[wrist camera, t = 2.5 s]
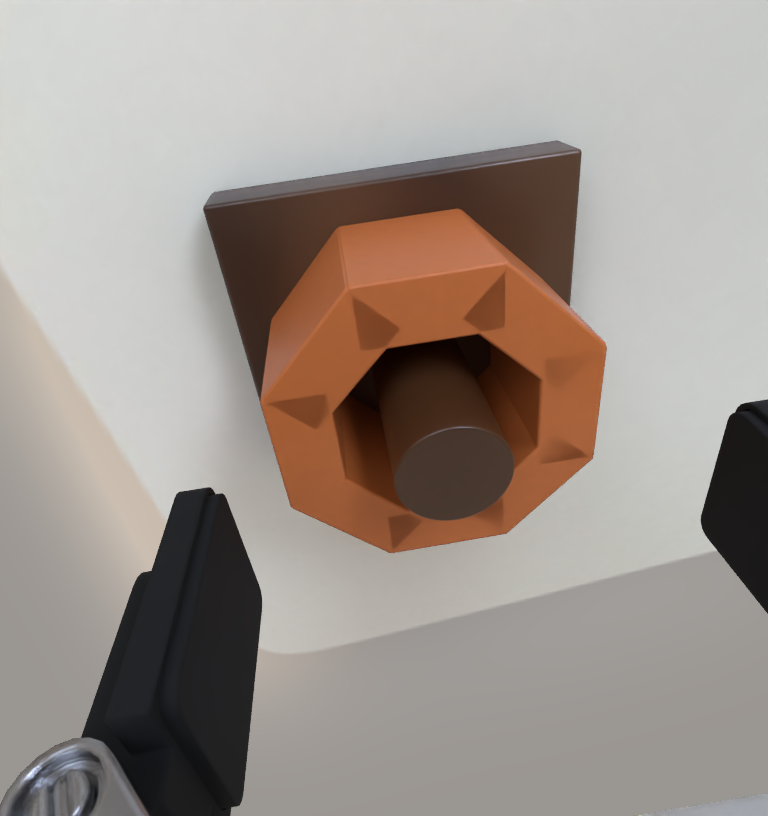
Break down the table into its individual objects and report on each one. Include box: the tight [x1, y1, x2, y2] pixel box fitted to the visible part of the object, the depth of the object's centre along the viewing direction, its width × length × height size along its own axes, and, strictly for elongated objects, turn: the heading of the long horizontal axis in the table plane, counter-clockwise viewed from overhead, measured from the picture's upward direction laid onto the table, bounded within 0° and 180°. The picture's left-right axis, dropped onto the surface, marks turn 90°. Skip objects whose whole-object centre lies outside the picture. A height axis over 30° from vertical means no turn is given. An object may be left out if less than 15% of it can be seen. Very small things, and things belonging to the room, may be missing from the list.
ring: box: [260, 209, 607, 553], centre depth 14 cm, size 7×7×4 cm
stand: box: [203, 141, 581, 521], centre depth 14 cm, size 9×9×7 cm
